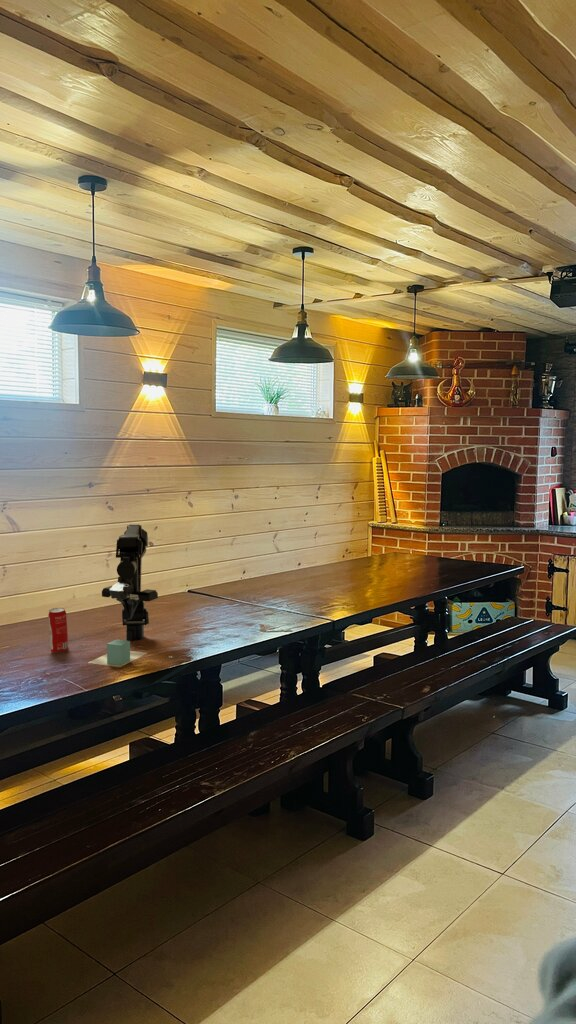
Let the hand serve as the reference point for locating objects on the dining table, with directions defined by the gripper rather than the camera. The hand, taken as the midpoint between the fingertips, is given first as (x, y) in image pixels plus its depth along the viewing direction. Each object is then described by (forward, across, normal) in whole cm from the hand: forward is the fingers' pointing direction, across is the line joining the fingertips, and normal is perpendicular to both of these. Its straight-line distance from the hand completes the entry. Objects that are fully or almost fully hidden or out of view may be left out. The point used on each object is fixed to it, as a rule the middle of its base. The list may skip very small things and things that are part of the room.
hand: (129, 618), depth 239 cm
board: (+12, 0, -7) cm, 14 cm away
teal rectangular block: (+12, +3, -11) cm, 16 cm away
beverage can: (+13, -24, -7) cm, 28 cm away
